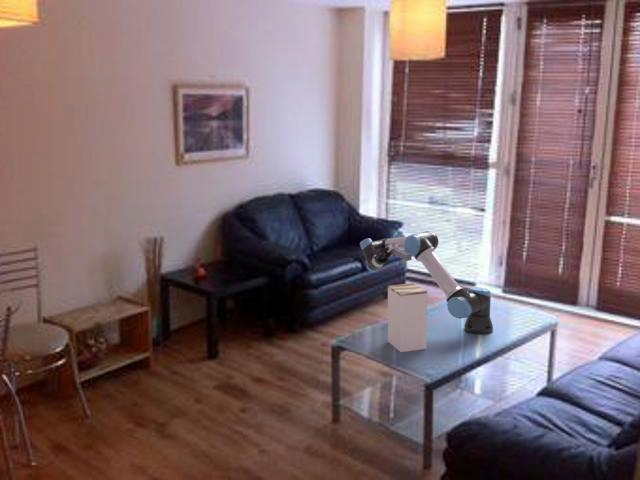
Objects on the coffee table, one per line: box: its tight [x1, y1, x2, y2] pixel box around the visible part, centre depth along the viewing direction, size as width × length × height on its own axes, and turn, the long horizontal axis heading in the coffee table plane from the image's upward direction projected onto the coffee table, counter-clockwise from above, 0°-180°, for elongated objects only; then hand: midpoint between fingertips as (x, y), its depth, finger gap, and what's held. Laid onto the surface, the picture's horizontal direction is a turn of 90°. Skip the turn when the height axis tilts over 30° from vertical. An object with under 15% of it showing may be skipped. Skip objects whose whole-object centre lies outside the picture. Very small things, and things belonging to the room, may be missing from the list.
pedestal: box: [387, 282, 428, 353], centre depth 323 cm, size 16×14×30 cm
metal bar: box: [386, 245, 413, 262], centre depth 345 cm, size 26×3×3 cm, turn 17°
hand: (394, 246), depth 349 cm, fingers closed on metal bar, 3 cm apart
